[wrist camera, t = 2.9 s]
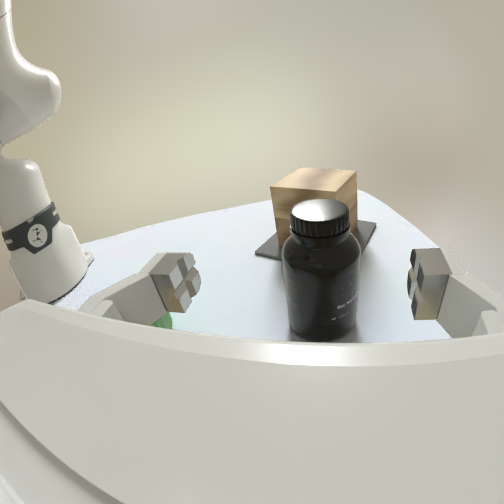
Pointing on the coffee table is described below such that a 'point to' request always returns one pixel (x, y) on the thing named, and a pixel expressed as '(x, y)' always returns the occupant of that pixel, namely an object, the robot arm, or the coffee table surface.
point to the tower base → (284, 225)
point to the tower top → (313, 188)
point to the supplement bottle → (321, 270)
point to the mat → (275, 251)
